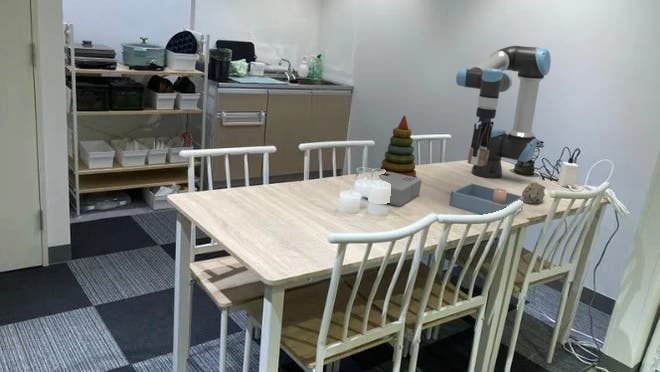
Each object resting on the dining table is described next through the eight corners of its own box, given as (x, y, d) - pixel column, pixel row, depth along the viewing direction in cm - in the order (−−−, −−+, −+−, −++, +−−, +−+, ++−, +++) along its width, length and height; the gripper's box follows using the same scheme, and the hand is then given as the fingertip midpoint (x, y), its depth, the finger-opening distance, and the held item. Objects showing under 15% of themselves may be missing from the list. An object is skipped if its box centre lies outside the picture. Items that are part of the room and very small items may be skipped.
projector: (420, 195, 236) (422, 178, 234) (400, 208, 218) (402, 189, 215) (385, 187, 244) (387, 170, 241) (363, 199, 225) (365, 181, 223)
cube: (473, 161, 230) (476, 147, 228) (487, 164, 226) (489, 150, 224) (467, 163, 225) (469, 149, 223) (480, 166, 221) (483, 152, 220)
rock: (531, 203, 232) (537, 181, 232) (518, 201, 237) (524, 179, 237) (546, 209, 239) (552, 187, 239) (534, 206, 244) (539, 185, 244)
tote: (469, 195, 241) (471, 183, 239) (521, 210, 227) (524, 196, 225) (449, 204, 226) (451, 191, 224) (504, 220, 212) (506, 206, 210)
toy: (374, 170, 268) (380, 110, 259) (413, 173, 269) (421, 113, 261) (378, 182, 249) (386, 117, 241) (421, 185, 251) (430, 121, 242)
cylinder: (493, 206, 226) (497, 187, 224) (505, 209, 223) (508, 190, 221) (489, 208, 222) (492, 190, 220) (500, 212, 220) (504, 193, 217)
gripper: (487, 104, 228) (478, 158, 235) (468, 107, 214) (458, 164, 220) (505, 107, 224) (495, 162, 230) (485, 110, 209) (476, 168, 216)
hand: (477, 163), depth 225 cm, fingers closed on cube, 6 cm apart
